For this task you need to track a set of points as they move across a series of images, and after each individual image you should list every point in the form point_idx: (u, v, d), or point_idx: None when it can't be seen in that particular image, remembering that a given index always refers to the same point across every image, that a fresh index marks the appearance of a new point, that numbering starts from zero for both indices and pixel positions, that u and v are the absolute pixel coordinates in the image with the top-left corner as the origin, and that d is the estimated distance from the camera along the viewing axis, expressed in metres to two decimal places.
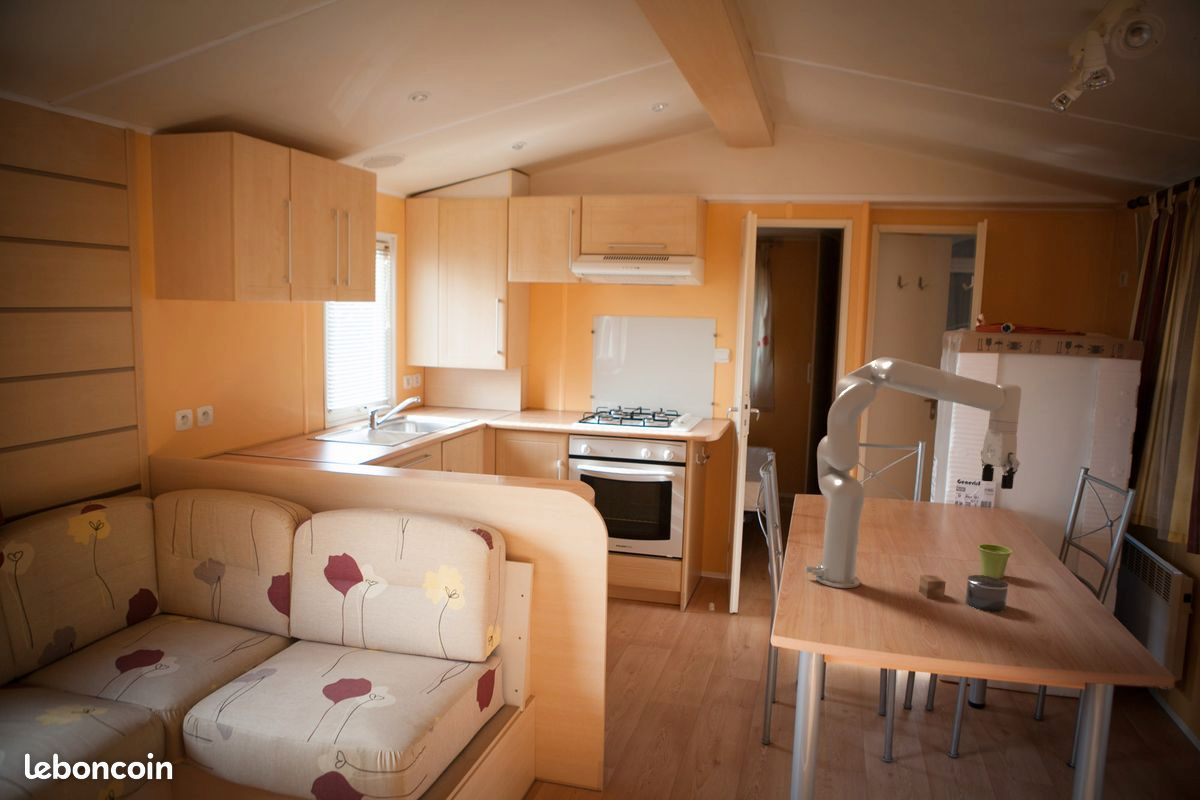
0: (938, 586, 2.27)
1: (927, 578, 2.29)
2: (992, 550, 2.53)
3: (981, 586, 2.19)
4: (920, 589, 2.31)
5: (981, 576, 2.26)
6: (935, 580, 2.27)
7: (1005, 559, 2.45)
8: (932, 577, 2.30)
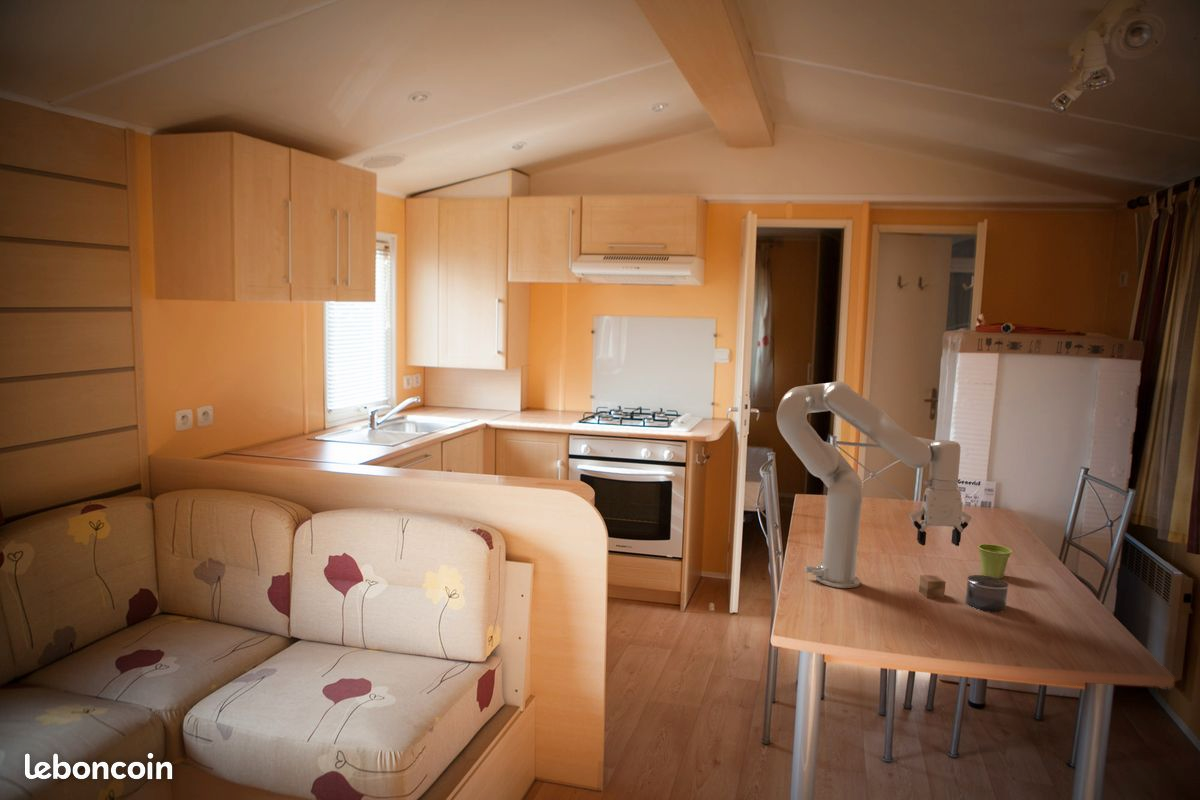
0: (938, 586, 2.27)
1: (927, 578, 2.29)
2: (992, 550, 2.53)
3: (981, 586, 2.19)
4: (920, 589, 2.31)
5: (981, 576, 2.26)
6: (935, 580, 2.27)
7: (1005, 559, 2.45)
8: (932, 577, 2.30)
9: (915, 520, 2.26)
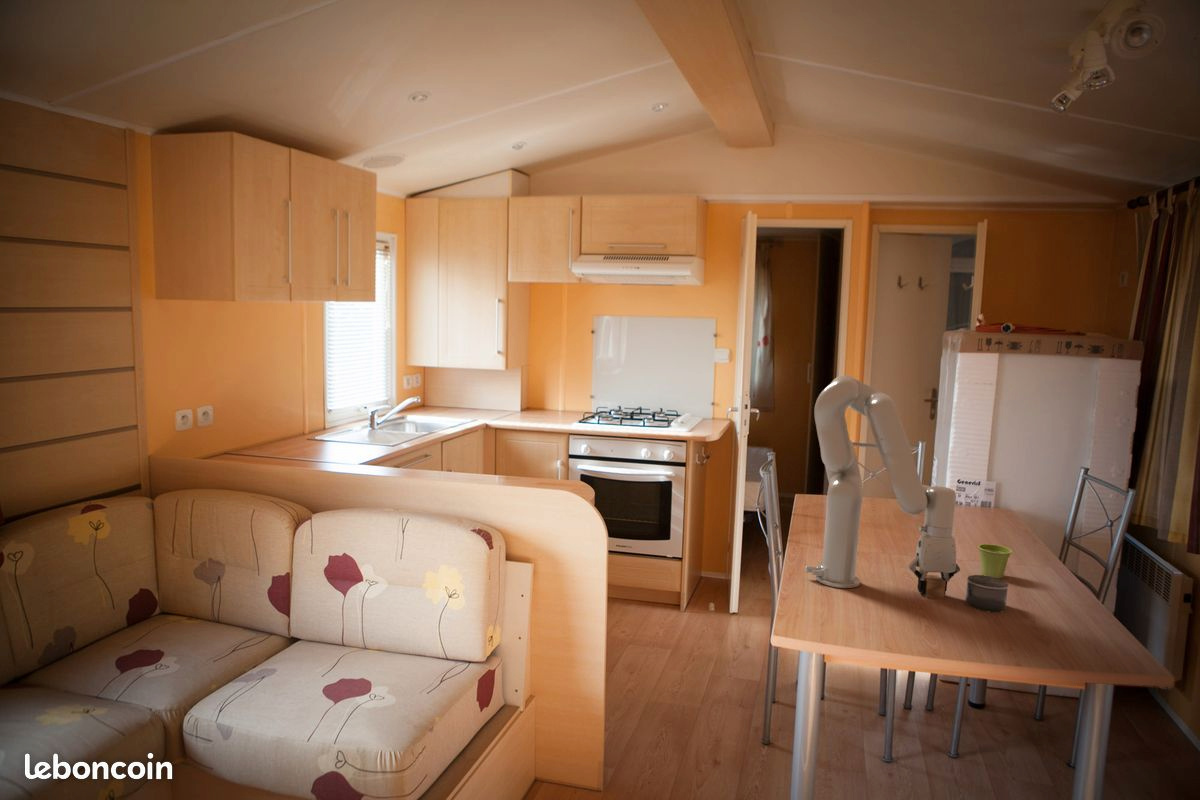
0: (938, 585, 2.27)
1: (927, 578, 2.29)
2: (992, 550, 2.53)
3: (981, 586, 2.19)
4: None
5: (981, 576, 2.26)
6: (935, 579, 2.27)
7: (1005, 559, 2.45)
8: (932, 577, 2.30)
9: (915, 570, 2.28)
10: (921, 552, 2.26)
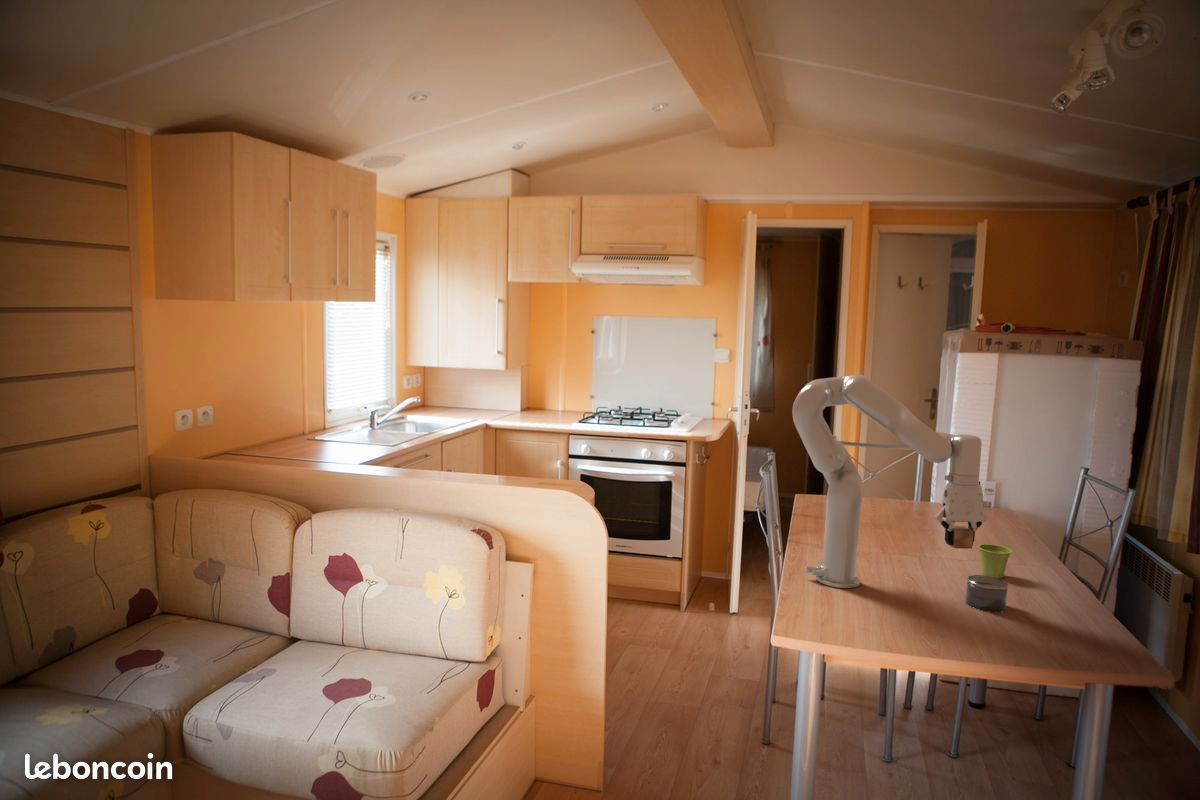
0: (966, 535, 2.22)
1: (954, 528, 2.24)
2: (992, 550, 2.53)
3: (981, 586, 2.19)
4: None
5: (981, 576, 2.26)
6: (962, 529, 2.23)
7: (1005, 559, 2.45)
8: (959, 527, 2.25)
9: (941, 520, 2.23)
10: (948, 501, 2.22)
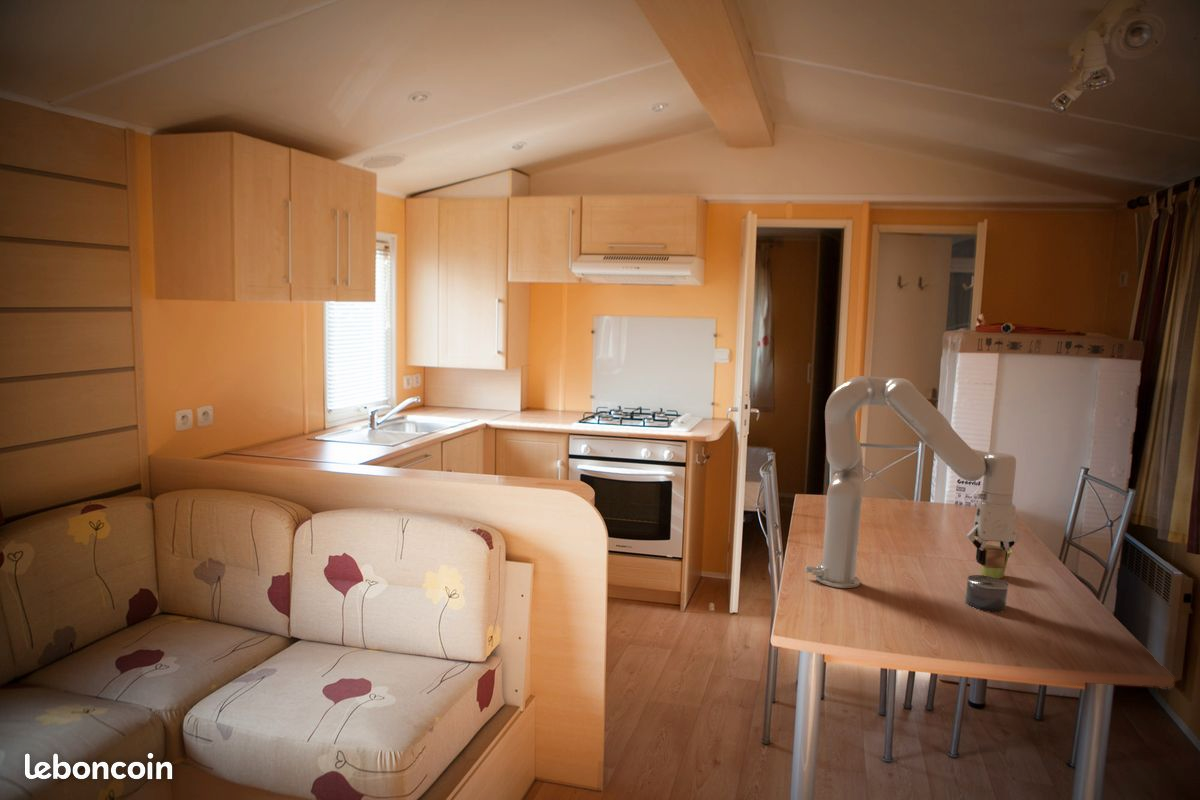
0: (998, 555, 2.19)
1: (986, 547, 2.21)
2: None
3: (981, 586, 2.19)
4: None
5: (981, 576, 2.26)
6: (995, 549, 2.20)
7: None
8: (991, 546, 2.22)
9: (973, 539, 2.20)
10: (980, 520, 2.18)
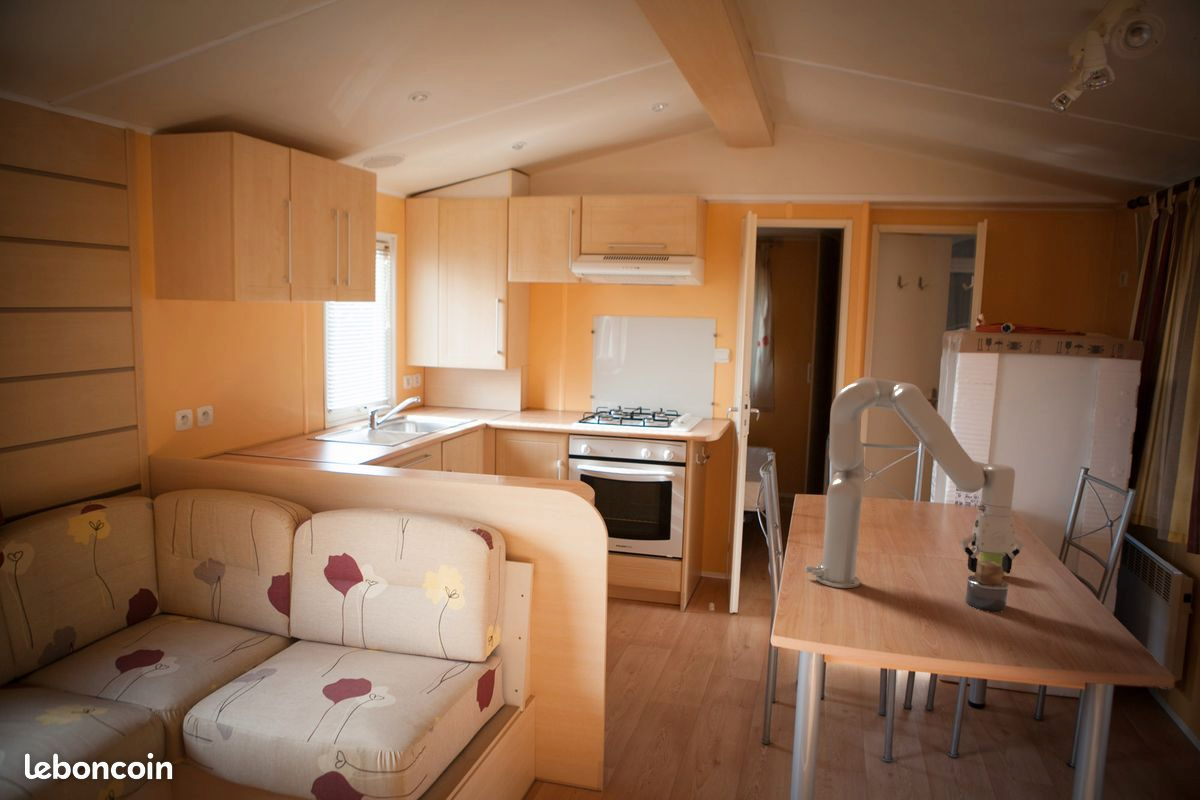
0: (996, 571, 2.19)
1: (983, 563, 2.21)
2: None
3: (981, 586, 2.19)
4: (976, 575, 2.24)
5: None
6: (992, 565, 2.20)
7: None
8: (989, 563, 2.22)
9: (966, 546, 2.20)
10: (979, 532, 2.19)
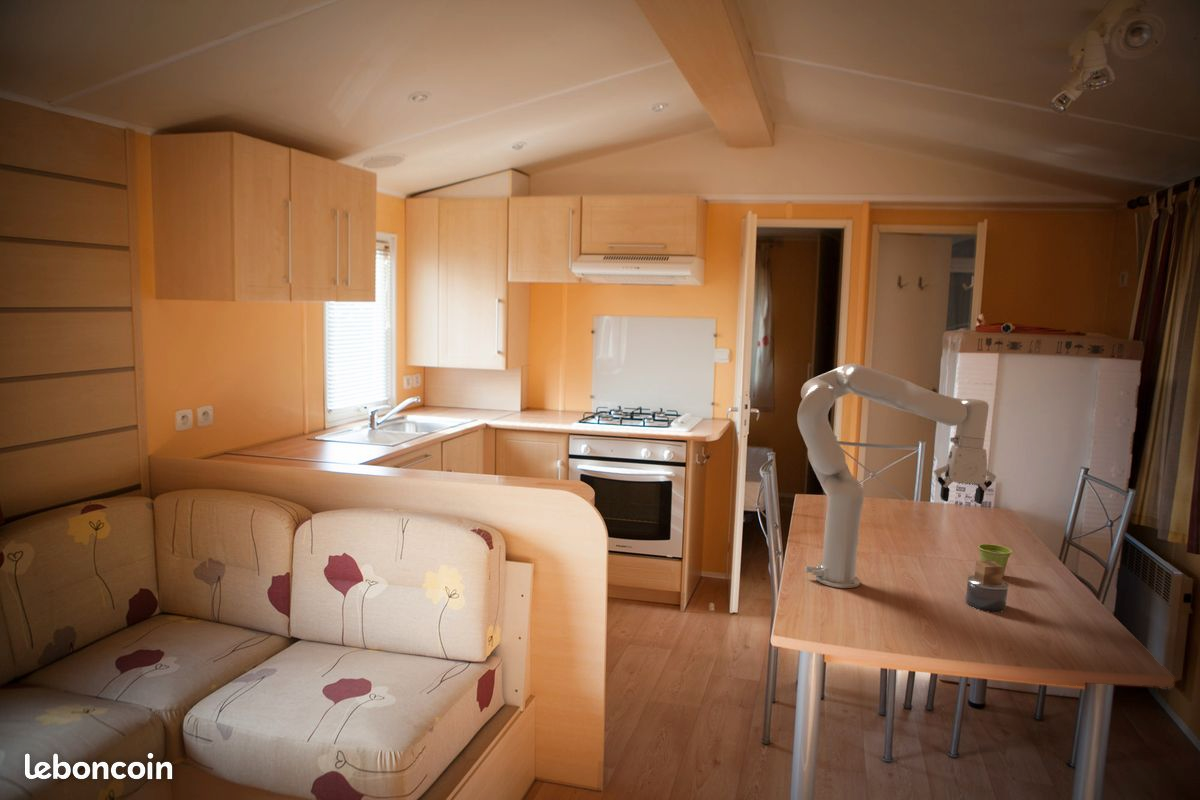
0: (996, 571, 2.19)
1: (983, 563, 2.21)
2: (992, 550, 2.53)
3: (981, 586, 2.19)
4: (976, 575, 2.24)
5: None
6: (992, 565, 2.20)
7: (1005, 559, 2.45)
8: (989, 563, 2.22)
9: (939, 476, 2.30)
10: (951, 462, 2.28)
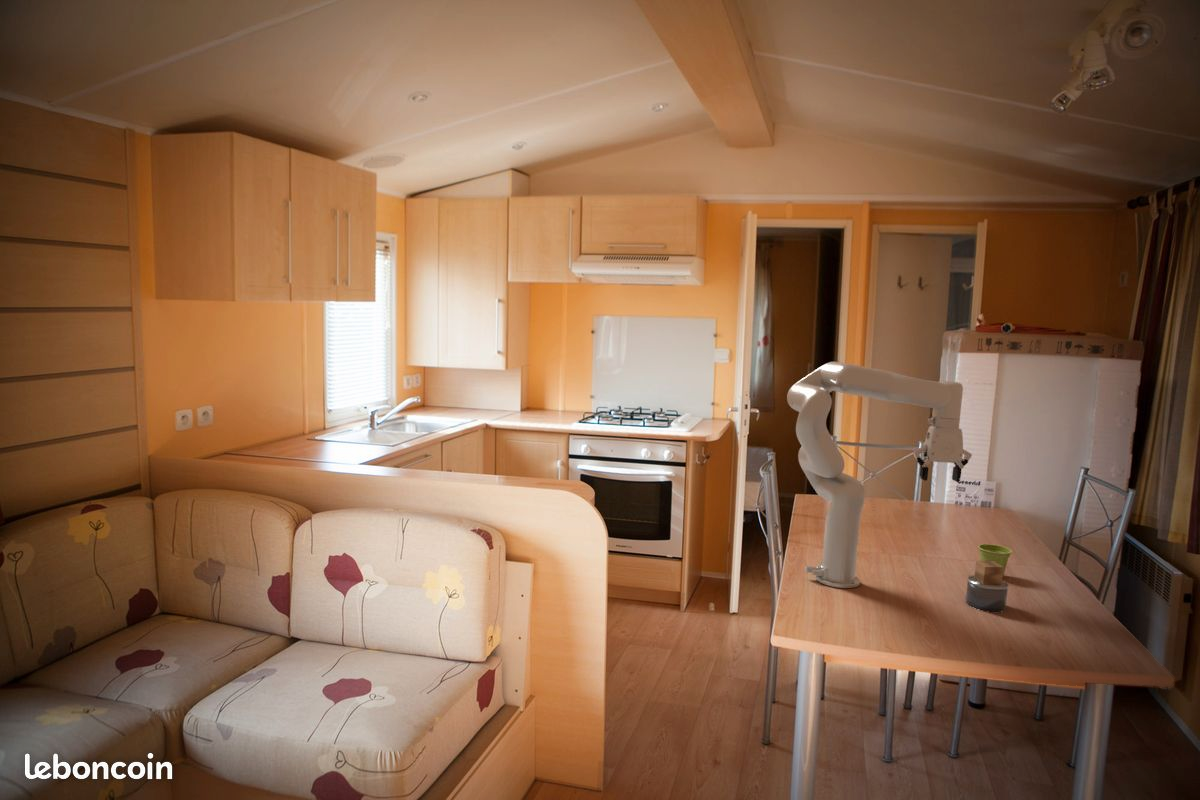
0: (996, 571, 2.19)
1: (983, 563, 2.21)
2: (992, 550, 2.53)
3: (981, 586, 2.19)
4: (976, 575, 2.24)
5: None
6: (992, 565, 2.20)
7: (1005, 559, 2.45)
8: (989, 563, 2.22)
9: (918, 456, 2.38)
10: (929, 443, 2.37)
